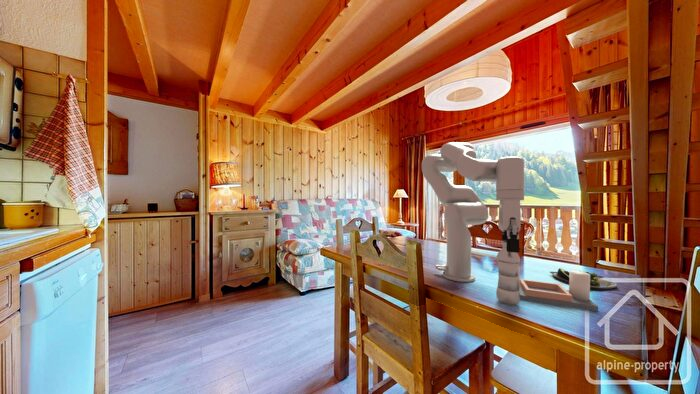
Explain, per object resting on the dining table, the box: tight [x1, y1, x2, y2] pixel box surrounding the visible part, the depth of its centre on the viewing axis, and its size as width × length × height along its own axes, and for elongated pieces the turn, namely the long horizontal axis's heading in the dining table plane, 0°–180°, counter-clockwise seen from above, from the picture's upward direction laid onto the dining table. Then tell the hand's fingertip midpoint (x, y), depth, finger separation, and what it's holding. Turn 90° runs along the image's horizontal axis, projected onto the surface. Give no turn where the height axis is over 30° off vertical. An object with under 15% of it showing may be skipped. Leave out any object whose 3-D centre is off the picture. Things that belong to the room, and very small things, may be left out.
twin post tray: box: [518, 266, 599, 312], centre depth 85 cm, size 24×12×10 cm, turn 65°
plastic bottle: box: [495, 240, 521, 306], centre depth 80 cm, size 6×7×20 cm
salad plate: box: [549, 268, 618, 291], centre depth 100 cm, size 19×18×5 cm
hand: (510, 249), depth 79 cm, fingers open, 9 cm apart
